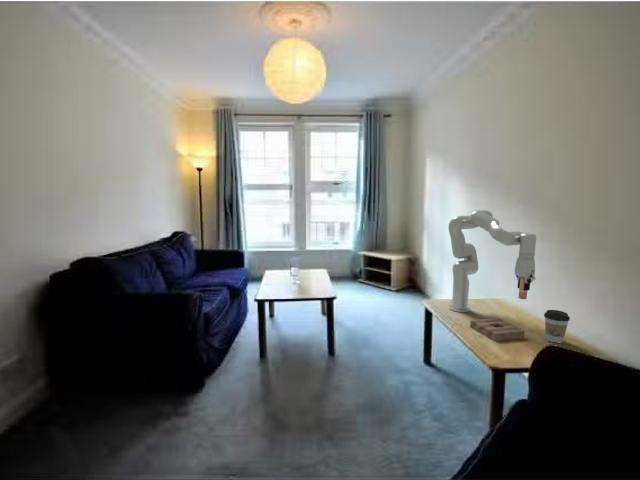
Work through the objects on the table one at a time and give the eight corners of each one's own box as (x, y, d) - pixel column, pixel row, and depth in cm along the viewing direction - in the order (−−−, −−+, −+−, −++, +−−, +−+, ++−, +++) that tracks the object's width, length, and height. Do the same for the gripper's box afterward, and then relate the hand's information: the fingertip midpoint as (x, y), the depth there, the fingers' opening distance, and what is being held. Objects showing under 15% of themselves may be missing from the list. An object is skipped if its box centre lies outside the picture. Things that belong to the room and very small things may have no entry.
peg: (516, 297, 211) (518, 272, 209) (522, 296, 212) (525, 272, 210) (522, 299, 207) (524, 274, 205) (528, 299, 208) (531, 274, 206)
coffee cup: (540, 341, 194) (543, 313, 192) (542, 335, 204) (544, 307, 202) (567, 347, 188) (570, 317, 186) (567, 339, 197) (570, 311, 195)
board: (470, 327, 214) (470, 320, 213) (497, 324, 218) (498, 318, 217) (494, 340, 194) (494, 333, 194) (524, 338, 199) (524, 330, 198)
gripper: (509, 253, 214) (506, 285, 216) (532, 259, 198) (529, 293, 200) (521, 253, 216) (518, 285, 218) (544, 258, 199) (541, 292, 202)
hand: (523, 288), depth 209 cm, fingers closed on peg, 4 cm apart
